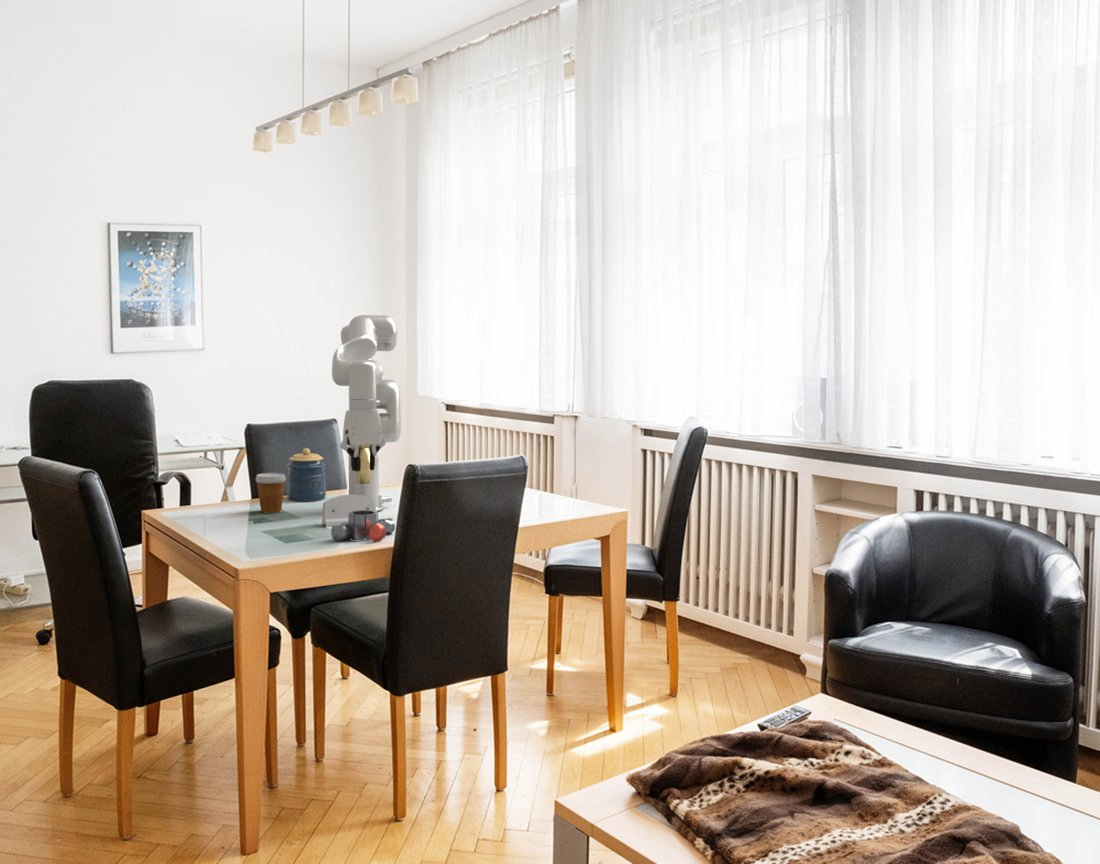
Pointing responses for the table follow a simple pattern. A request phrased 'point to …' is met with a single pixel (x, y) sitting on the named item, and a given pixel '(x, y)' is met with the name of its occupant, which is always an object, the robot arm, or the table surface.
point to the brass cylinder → (364, 465)
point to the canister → (306, 477)
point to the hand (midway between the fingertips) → (363, 469)
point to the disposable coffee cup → (270, 491)
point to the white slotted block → (344, 508)
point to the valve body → (363, 527)
